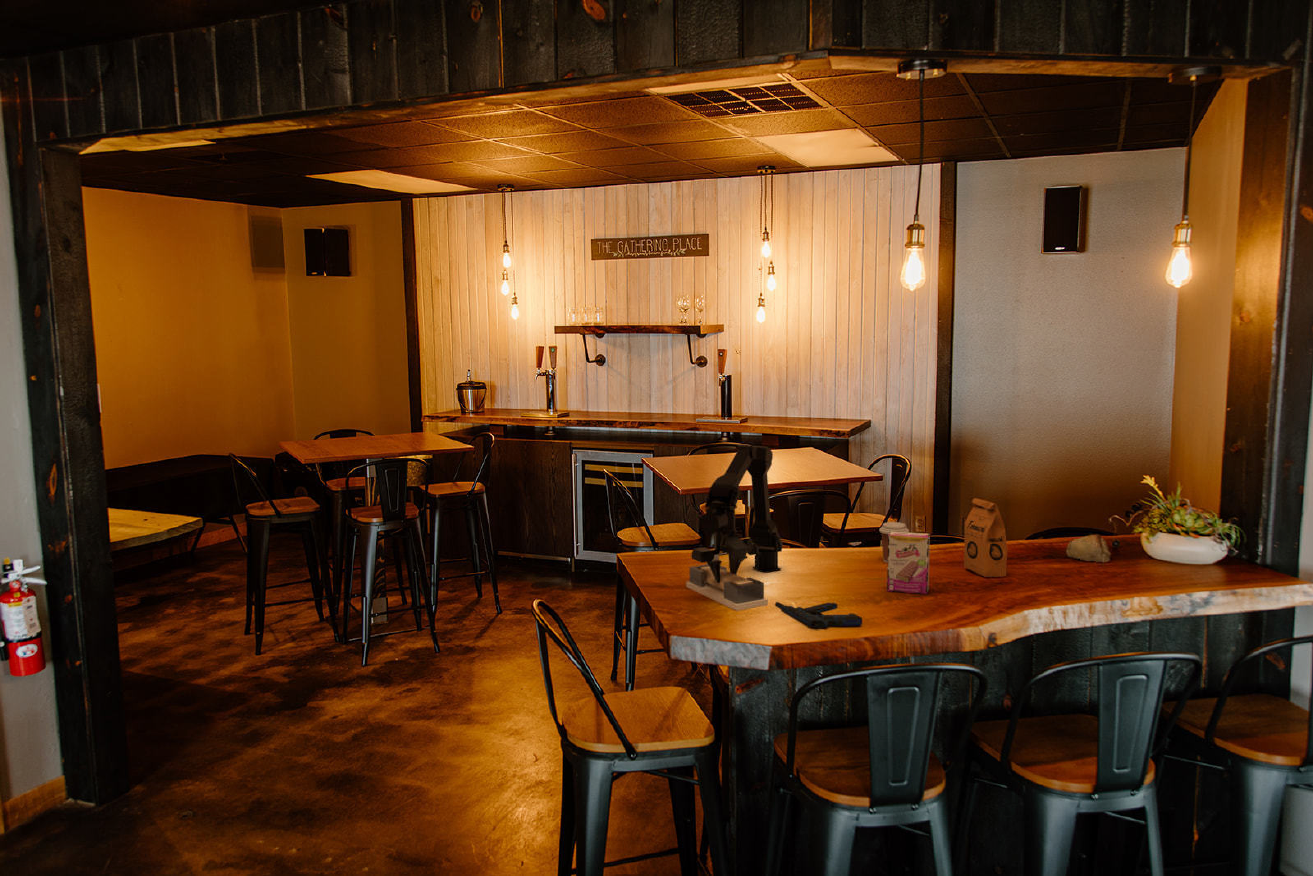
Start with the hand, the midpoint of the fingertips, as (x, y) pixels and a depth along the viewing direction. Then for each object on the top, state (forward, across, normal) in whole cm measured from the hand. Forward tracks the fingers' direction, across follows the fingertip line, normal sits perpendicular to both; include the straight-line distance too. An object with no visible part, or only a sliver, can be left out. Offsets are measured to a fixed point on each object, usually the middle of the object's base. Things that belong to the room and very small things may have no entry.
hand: (725, 581), depth 244 cm
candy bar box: (+4, +46, -23) cm, 52 cm away
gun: (+5, +11, -28) cm, 30 cm away
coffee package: (+4, +79, -21) cm, 82 cm away
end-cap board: (+4, 0, 0) cm, 4 cm away
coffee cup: (+4, +66, +4) cm, 66 cm away
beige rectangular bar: (+1, 0, 0) cm, 1 cm away
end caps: (+3, 0, 0) cm, 3 cm away
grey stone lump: (+5, +121, -25) cm, 123 cm away
